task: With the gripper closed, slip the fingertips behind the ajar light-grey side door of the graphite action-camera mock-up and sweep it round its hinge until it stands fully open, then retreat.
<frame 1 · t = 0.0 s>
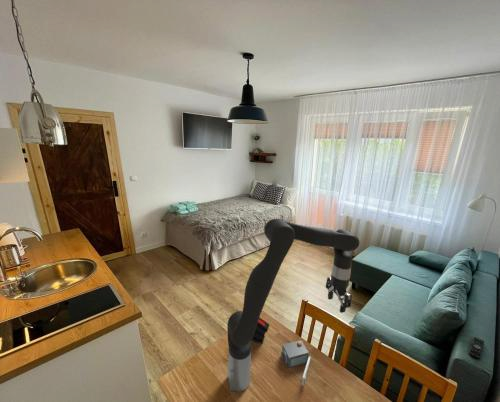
hand: (335, 305, 102), 29 cm above the table, fingers open, 8 cm apart
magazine: (255, 339, 117), on the table
side door: (306, 369, 100), point 2 cm above the table, hinge at 45.0°
camera body: (294, 358, 108), on the table
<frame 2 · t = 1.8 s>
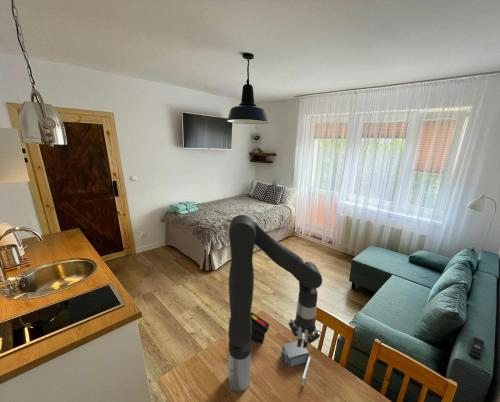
hand: (302, 345, 93), 19 cm above the table, fingers closed
nothing on the table moved.
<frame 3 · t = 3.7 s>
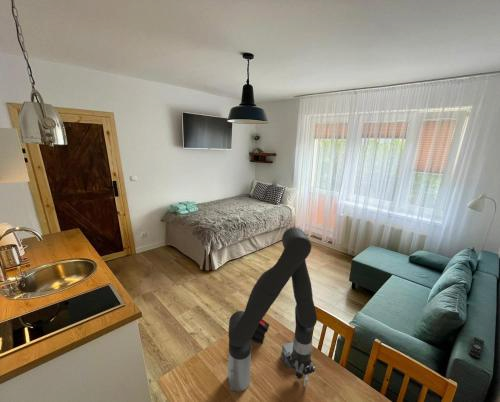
hand: (299, 376, 98), 1 cm above the table, fingers closed
side door: (307, 370, 100), point 2 cm above the table, hinge at 49.0°, touching gripper
everything else where it was.
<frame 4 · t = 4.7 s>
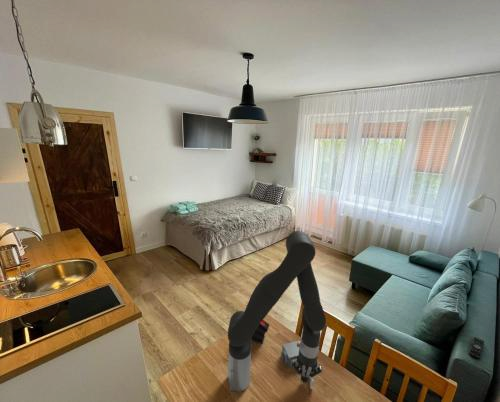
hand: (304, 380, 96), 1 cm above the table, fingers closed
side door: (310, 371, 99), point 2 cm above the table, hinge at 62.9°, touching gripper
everything else where it was.
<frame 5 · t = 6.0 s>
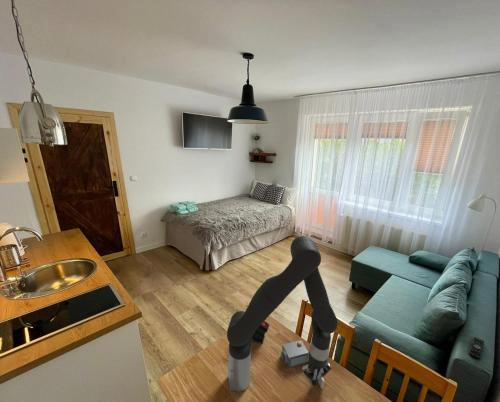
hand: (313, 383, 95), 1 cm above the table, fingers closed
side door: (316, 370, 99), point 2 cm above the table, hinge at 87.5°, touching gripper
everything else where it was.
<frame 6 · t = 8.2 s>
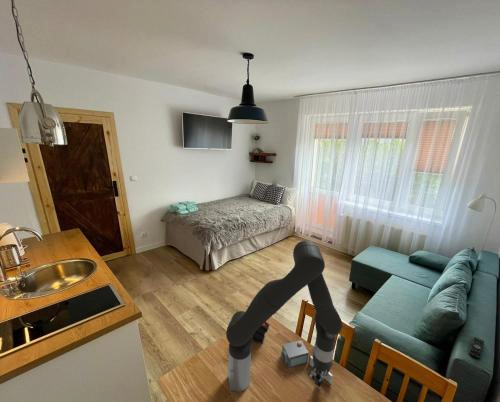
hand: (318, 384, 95), 1 cm above the table, fingers closed
side door: (319, 368, 101), point 2 cm above the table, hinge at 112.2°
everything else where it was.
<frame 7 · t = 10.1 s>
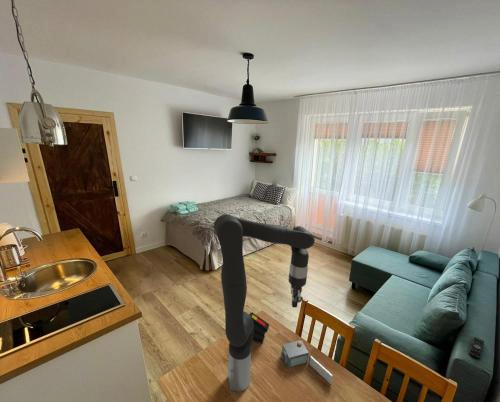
hand: (294, 306, 100), 30 cm above the table, fingers closed
nothing on the table moved.
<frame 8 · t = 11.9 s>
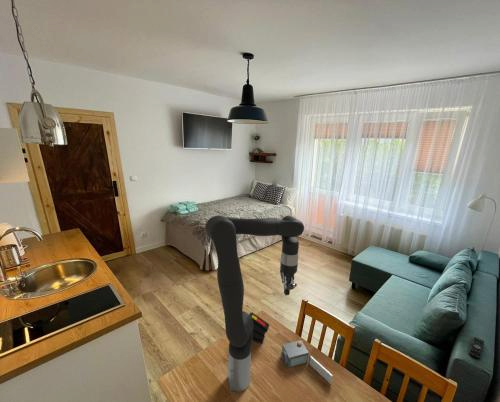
hand: (286, 294, 103), 33 cm above the table, fingers closed
nothing on the table moved.
at the end: side door at +112° (first picture: +45°) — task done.
